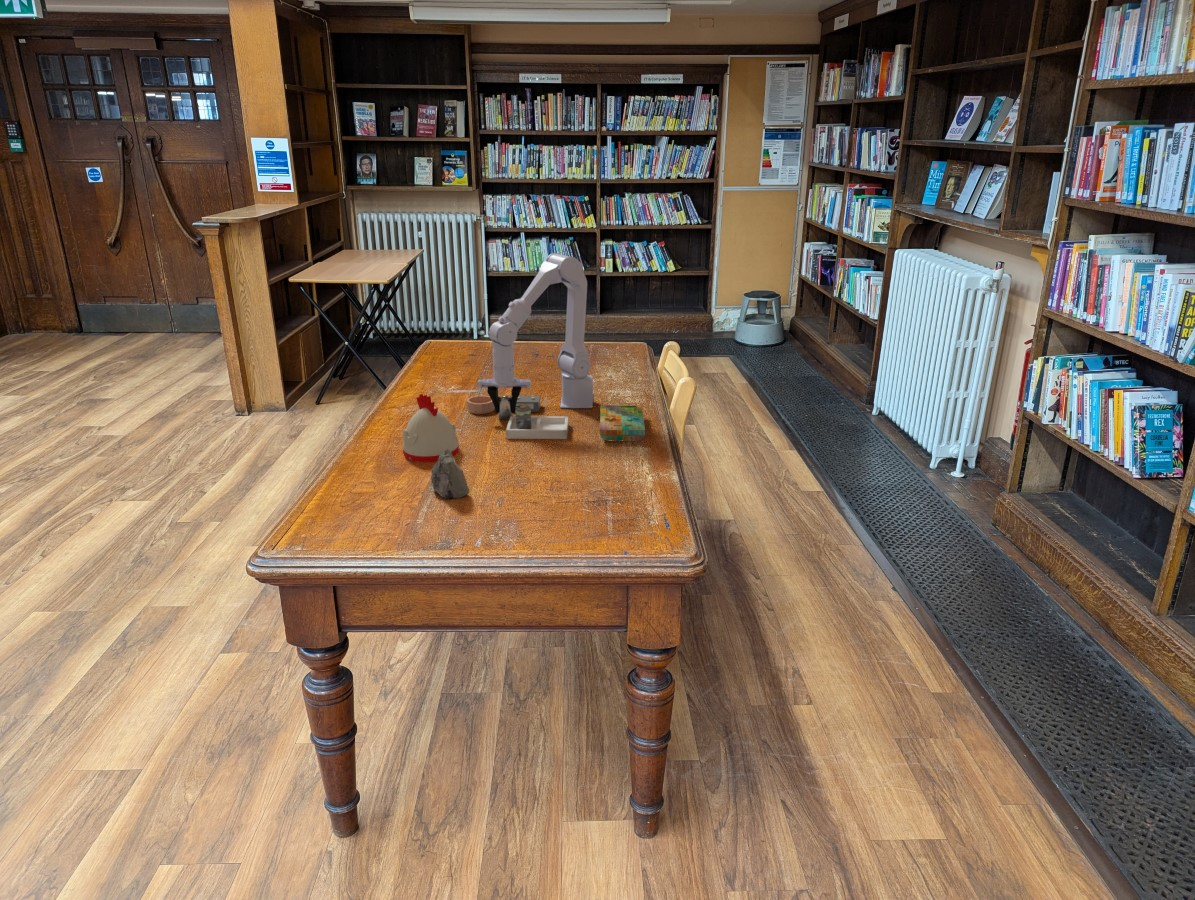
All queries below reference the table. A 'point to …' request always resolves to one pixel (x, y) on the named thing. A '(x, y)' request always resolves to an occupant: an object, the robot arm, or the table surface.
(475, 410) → the pink bowl
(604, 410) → the puzzle game
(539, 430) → the tray
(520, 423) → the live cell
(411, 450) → the kitchen timer
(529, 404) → the grey box with knobs
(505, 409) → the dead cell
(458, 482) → the mineral rock
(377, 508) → the table surface
